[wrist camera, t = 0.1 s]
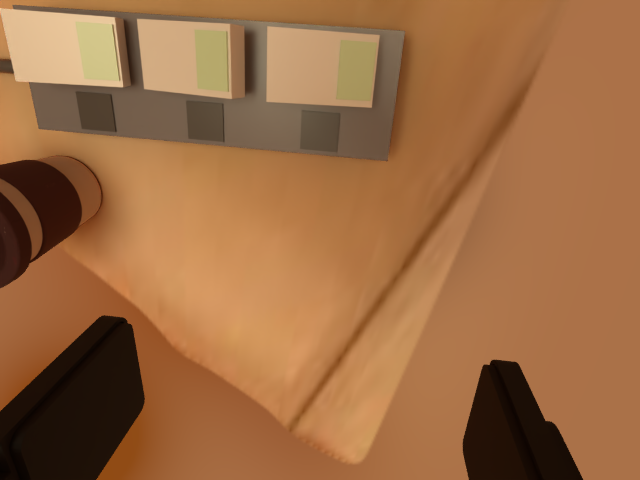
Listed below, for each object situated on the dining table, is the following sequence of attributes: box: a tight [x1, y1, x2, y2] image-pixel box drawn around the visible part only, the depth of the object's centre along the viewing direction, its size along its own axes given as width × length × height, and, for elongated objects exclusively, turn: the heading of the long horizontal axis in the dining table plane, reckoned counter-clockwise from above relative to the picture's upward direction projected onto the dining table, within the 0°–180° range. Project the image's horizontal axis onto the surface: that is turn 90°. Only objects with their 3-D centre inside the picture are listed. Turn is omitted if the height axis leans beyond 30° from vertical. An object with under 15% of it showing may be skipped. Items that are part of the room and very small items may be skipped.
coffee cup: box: [0, 156, 101, 288], centre depth 38 cm, size 10×10×15 cm
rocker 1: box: [0, 8, 131, 87], centre depth 33 cm, size 5×8×2 cm, turn 86°
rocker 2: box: [266, 26, 380, 108], centre depth 31 cm, size 5×8×2 cm, turn 86°
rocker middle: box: [137, 19, 245, 99], centre depth 32 cm, size 5×8×2 cm, turn 86°
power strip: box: [0, 5, 405, 161], centre depth 36 cm, size 10×40×5 cm, turn 86°
